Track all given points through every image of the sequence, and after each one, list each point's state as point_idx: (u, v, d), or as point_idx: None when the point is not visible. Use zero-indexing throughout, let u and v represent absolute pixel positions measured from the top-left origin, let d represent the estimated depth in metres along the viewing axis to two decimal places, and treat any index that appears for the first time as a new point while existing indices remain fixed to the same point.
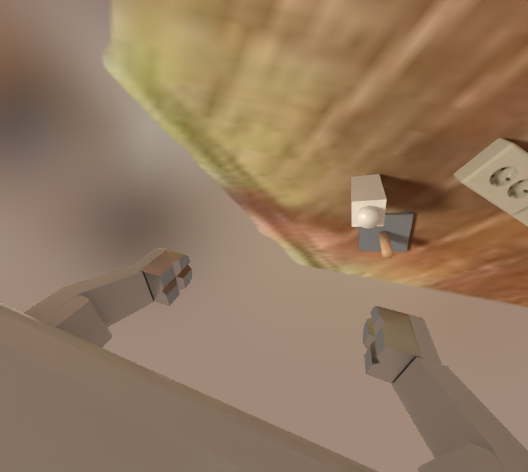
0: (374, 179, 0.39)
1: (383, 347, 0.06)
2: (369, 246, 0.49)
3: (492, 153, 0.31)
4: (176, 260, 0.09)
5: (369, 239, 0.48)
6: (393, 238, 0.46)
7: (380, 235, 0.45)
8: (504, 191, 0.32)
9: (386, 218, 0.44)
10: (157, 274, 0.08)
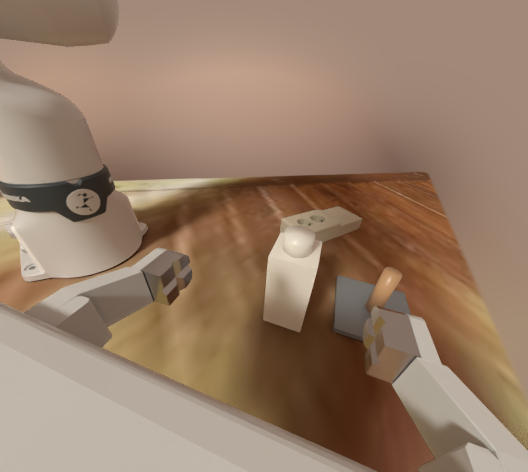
0: None
1: (383, 347, 0.06)
2: None
3: (286, 227, 0.42)
4: (176, 260, 0.09)
5: None
6: None
7: (371, 305, 0.27)
8: (317, 222, 0.42)
9: (341, 298, 0.30)
10: (157, 274, 0.08)
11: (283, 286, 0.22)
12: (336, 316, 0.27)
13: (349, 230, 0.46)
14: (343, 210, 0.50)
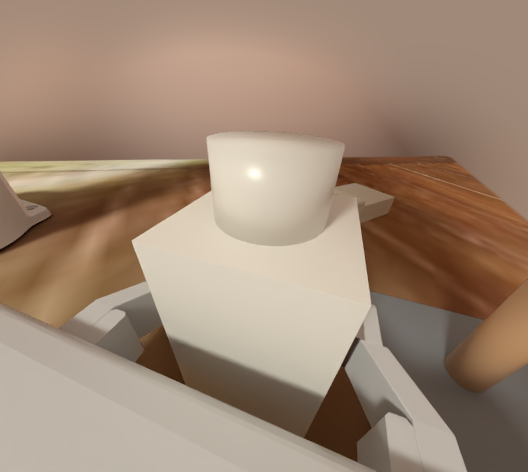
0: None
1: None
2: None
3: None
4: None
5: None
6: None
7: (472, 372, 0.11)
8: None
9: (387, 345, 0.13)
10: None
11: (222, 355, 0.06)
12: None
13: (375, 214, 0.30)
14: (363, 187, 0.34)
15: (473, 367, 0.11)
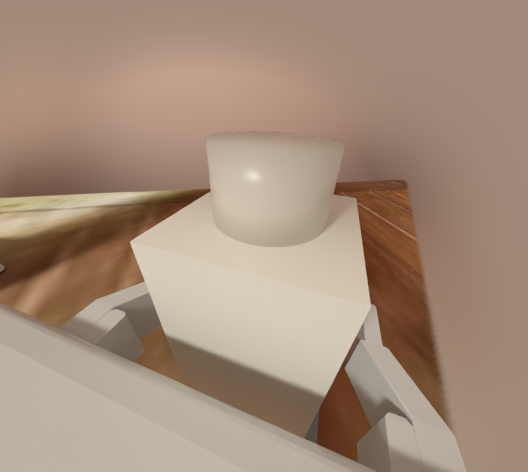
0: None
1: None
2: None
3: None
4: None
5: None
6: None
7: None
8: None
9: None
10: None
11: (221, 357, 0.06)
12: None
13: None
14: None
15: None
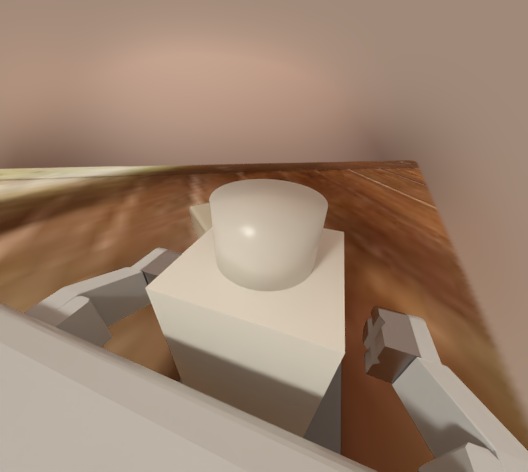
0: None
1: (383, 347, 0.06)
2: None
3: (194, 219, 0.28)
4: None
5: None
6: None
7: None
8: None
9: None
10: (157, 274, 0.08)
11: (223, 379, 0.07)
12: None
13: None
14: None
15: None
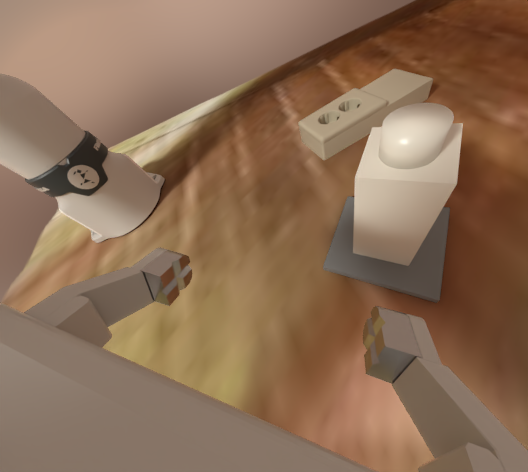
0: None
1: (383, 347, 0.06)
2: (425, 270, 0.19)
3: (305, 133, 0.33)
4: (176, 260, 0.09)
5: (396, 265, 0.20)
6: None
7: None
8: (347, 112, 0.30)
9: (344, 228, 0.24)
10: (157, 274, 0.08)
11: (382, 215, 0.15)
12: (329, 252, 0.23)
13: None
14: (400, 74, 0.32)
15: None
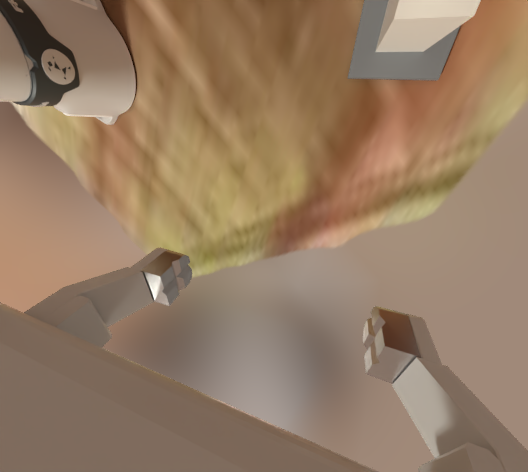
0: None
1: (383, 347, 0.06)
2: (436, 52, 0.23)
3: None
4: (176, 260, 0.09)
5: (413, 54, 0.23)
6: None
7: None
8: None
9: (368, 19, 0.23)
10: (157, 274, 0.08)
11: (410, 33, 0.18)
12: (353, 58, 0.25)
13: None
14: None
15: None
